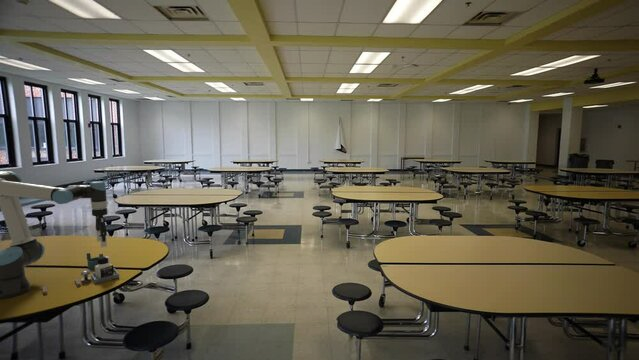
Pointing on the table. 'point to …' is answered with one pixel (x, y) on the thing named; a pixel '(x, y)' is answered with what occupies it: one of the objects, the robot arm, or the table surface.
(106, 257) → the medicine bottle
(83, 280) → the knob
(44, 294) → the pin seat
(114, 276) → the tray
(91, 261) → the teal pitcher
